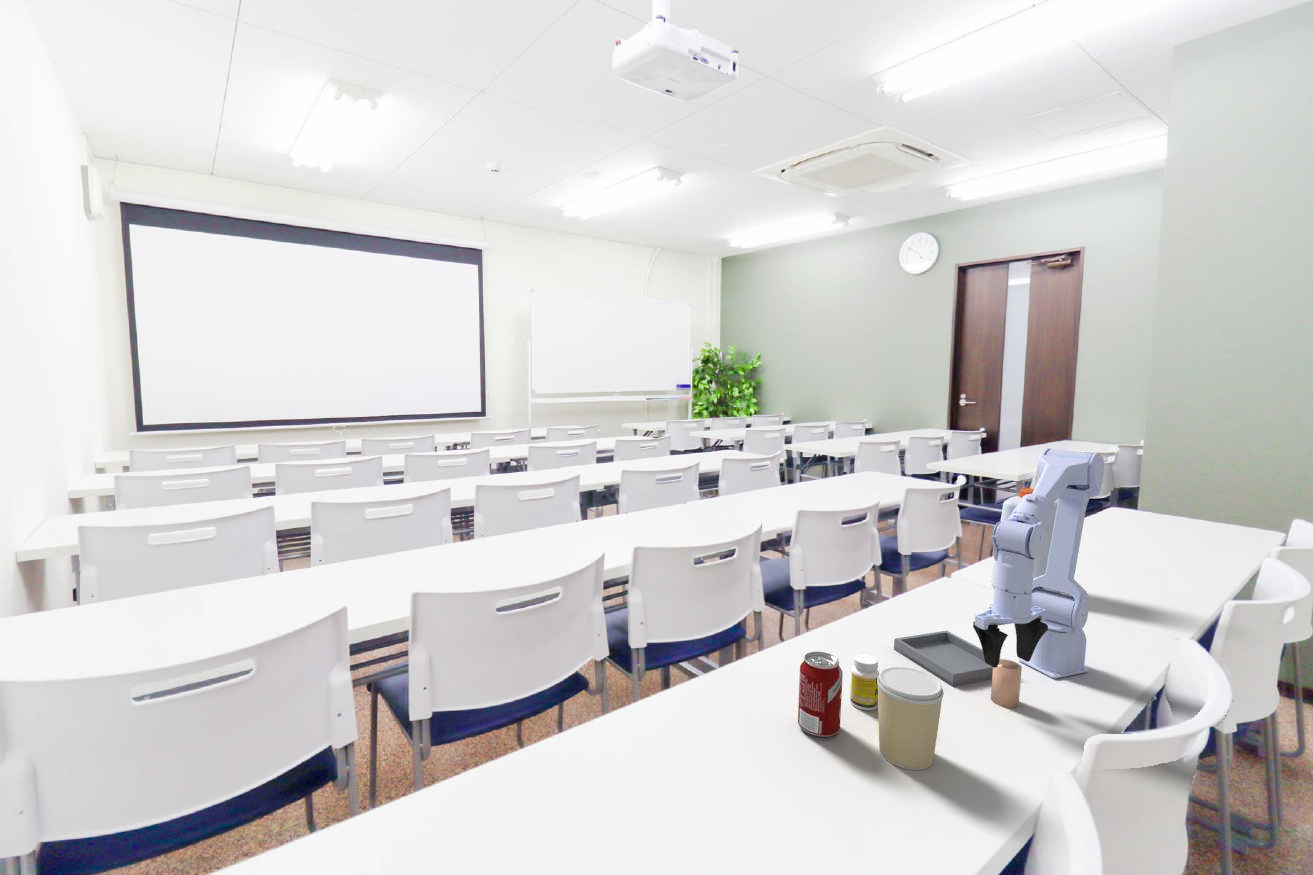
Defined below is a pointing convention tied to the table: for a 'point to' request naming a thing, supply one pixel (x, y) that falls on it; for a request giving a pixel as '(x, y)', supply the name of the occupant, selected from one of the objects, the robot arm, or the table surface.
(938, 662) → the tray
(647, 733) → the table surface
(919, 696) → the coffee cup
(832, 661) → the soda can
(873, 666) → the supplement bottle
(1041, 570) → the plastic bottle
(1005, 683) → the peach cylinder
